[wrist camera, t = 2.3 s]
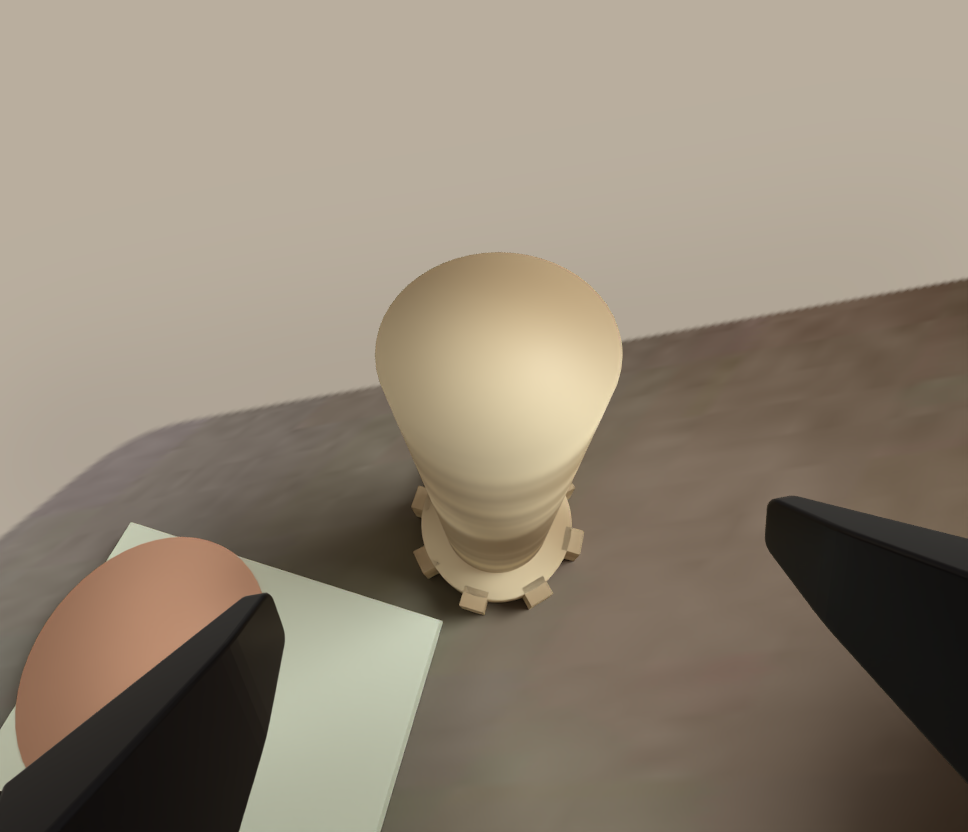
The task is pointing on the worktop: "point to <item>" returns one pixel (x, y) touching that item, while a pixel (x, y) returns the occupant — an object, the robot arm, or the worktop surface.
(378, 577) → the worktop surface
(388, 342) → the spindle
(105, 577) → the board
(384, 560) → the worktop surface
